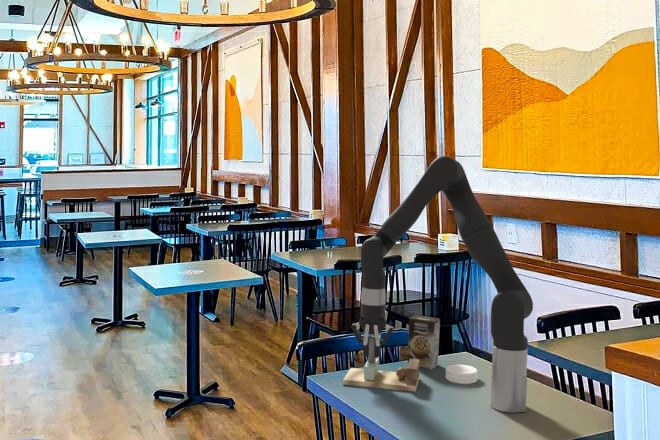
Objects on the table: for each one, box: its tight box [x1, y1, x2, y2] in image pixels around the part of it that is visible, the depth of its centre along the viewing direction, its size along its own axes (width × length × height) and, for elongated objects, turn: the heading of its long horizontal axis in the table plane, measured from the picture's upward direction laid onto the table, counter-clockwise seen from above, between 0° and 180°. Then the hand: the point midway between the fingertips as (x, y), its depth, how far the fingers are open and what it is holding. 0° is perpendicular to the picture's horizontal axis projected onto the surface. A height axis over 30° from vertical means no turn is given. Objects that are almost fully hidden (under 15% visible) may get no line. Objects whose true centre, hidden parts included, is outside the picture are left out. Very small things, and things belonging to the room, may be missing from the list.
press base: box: [342, 359, 420, 393], centre depth 192 cm, size 22×12×6 cm, turn 77°
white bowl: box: [445, 364, 479, 385], centre depth 197 cm, size 10×10×4 cm
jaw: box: [363, 335, 380, 380], centre depth 193 cm, size 3×10×12 cm, turn 167°
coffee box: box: [407, 314, 441, 370], centre depth 210 cm, size 9×6×16 cm
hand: (371, 356), depth 193 cm, fingers closed on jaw, 2 cm apart
